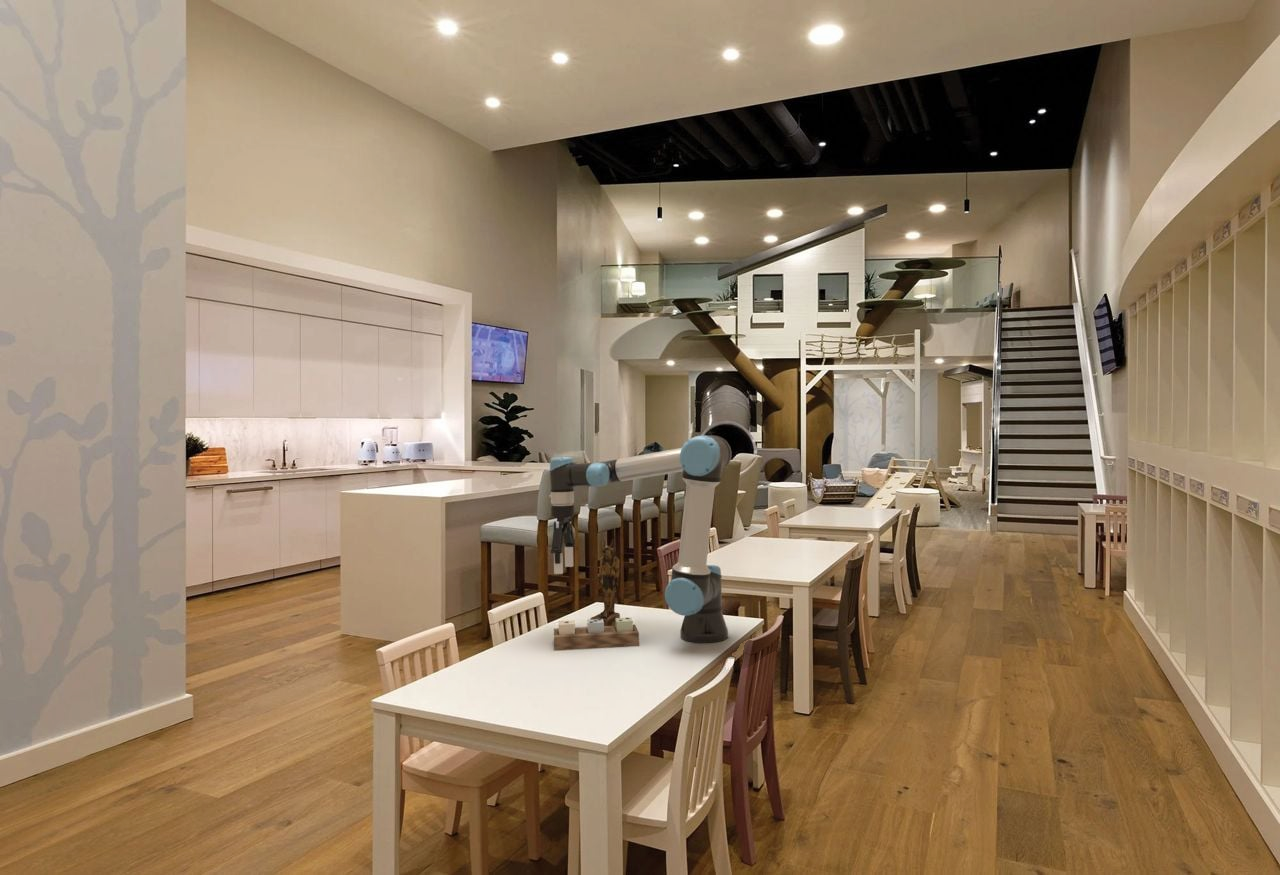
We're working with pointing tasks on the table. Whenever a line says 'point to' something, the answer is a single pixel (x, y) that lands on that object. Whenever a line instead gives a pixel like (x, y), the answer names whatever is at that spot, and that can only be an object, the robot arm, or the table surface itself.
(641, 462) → the robot arm
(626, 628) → the pale green block
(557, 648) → the wooden tray
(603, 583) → the statue
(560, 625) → the button
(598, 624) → the button
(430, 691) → the table surface
